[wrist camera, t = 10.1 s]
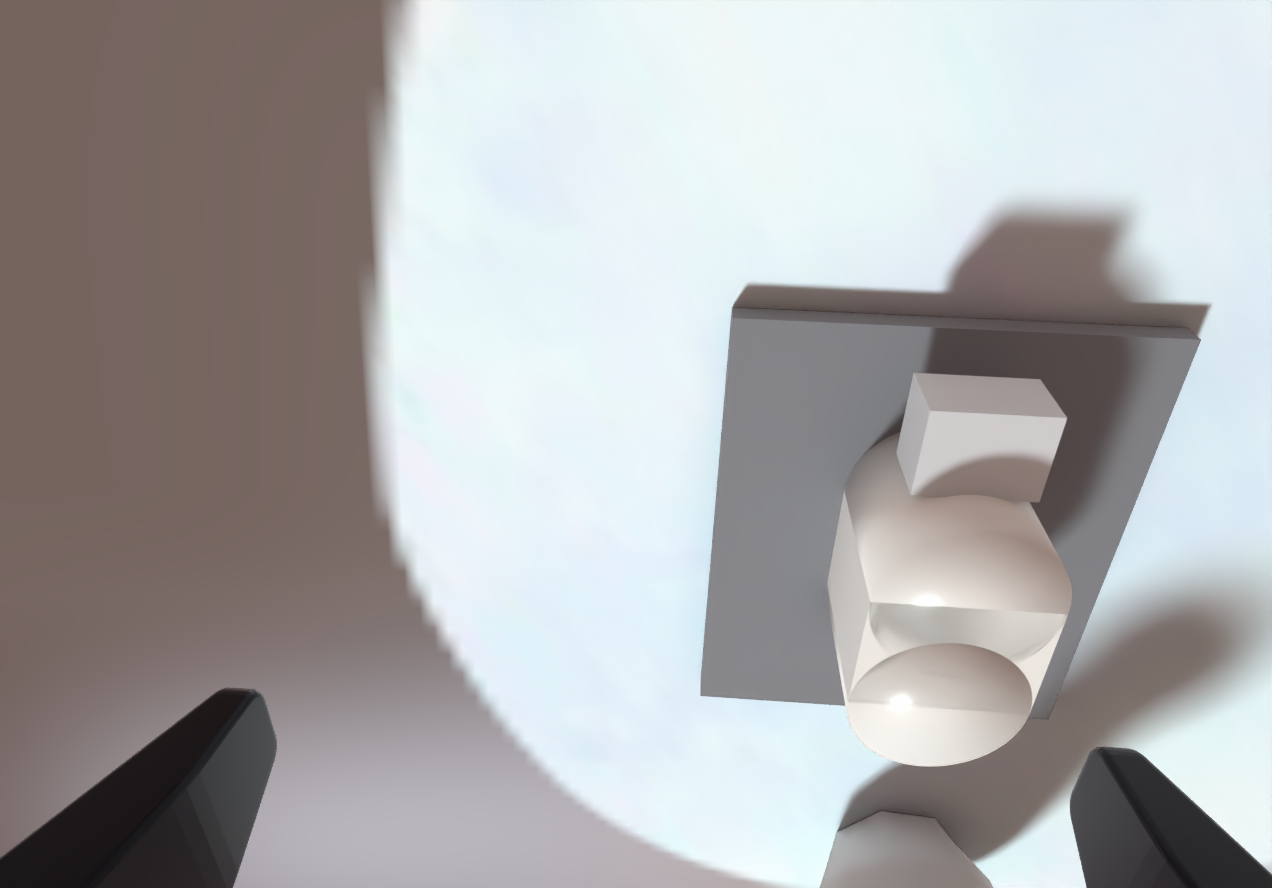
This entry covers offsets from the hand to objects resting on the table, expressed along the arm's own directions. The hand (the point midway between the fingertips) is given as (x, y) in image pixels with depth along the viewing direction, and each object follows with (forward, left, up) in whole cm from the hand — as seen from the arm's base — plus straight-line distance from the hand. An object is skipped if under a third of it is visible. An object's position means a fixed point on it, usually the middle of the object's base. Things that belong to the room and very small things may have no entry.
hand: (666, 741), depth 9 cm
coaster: (-6, +6, -12) cm, 15 cm away
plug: (-6, +6, -11) cm, 14 cm away
